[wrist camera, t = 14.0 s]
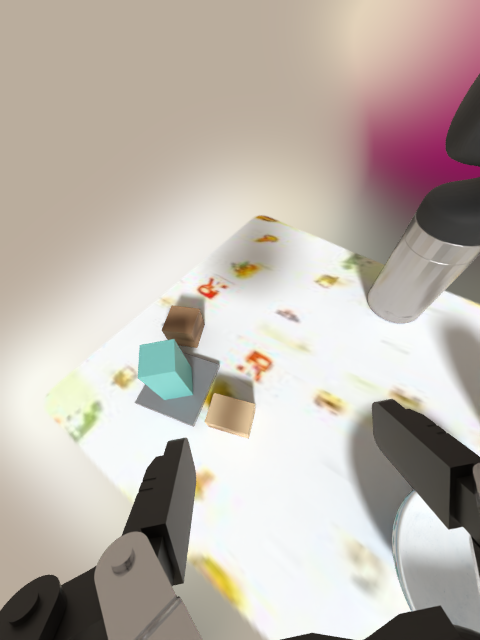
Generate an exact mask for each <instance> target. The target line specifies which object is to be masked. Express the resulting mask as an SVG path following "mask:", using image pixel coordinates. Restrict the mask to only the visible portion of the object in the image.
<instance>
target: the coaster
mask: <svg viewBox="0 0 480 640" xmlns="http://www.w3.org/2000/svg"><path fill="white" fill-rule="evenodd" d="M183 354H184V356H185V358H186V359H187V361H188V363H189V364H190V366H191V368H192V383H193V395H190V396H184V397H179V398H174V399H168V400H163V399H162V398H161V397H160V396H159V395H158V394H156V393H155V392H154V391H153V390H152V389H150V388H149V387H148V386H147V385H146V384H145V386H144V388H143V389H142V391H141V393H140V395H139V396H138V398H137V400H136V402H135V403H136V404H138V405H141V406H143V407H146V408H148V409H151V410H153V411H156V412H158V413H161V414H163V415H165V416H168V417H170V418H173V419H175V420H178V421H180V422H183V423H185V424H188V425H190V426H193V427H194V425H195V423H196V421H197V418H198V416H199V414H200V411H201V409H202V407H203V404H204V402H205V400H206V397H207V395H208V393H209V390H210V388H211V386H212V383H213V381H214V379H215V376H216V374H217V372H218V369H219V367H220V366H219V364H216V363H213V362H210V361H207V360H204V359H201V358H198V357H195V356H191V355H188V354H185V353H183Z"/></svg>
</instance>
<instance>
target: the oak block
mask: <svg viewBox="0 0 480 640" xmlns="http://www.w3.org/2000/svg"><path fill="white" fill-rule="evenodd" d="M254 414H255V404H253V403H250V402H246V401H242V400H239V399H235V398H231V397H227V396H224V395H220V394H216V393H214V395H213V398H212V401H211V404H210V407H209V410H208V413H207V416H206V419H205V423H206V424H207V425H208V426H209V427H211V428H215V429H218V430H221V431H225V432H228V433H231V434H235V435H238V436H241V437H245V438H248V439H249V435H250V431H251V427H252V423H253V418H254Z"/></svg>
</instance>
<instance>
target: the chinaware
mask: <svg viewBox="0 0 480 640" xmlns="http://www.w3.org/2000/svg"><path fill="white" fill-rule="evenodd" d="M392 551H393V558H394V564H395V569H396V573H397V576H398V580H399V583H400V586H401V588H402V591H403V594H404V596H405V598H406V601H407V603H408V605H409V607H410V609H411V611H416V610H421V609H425V608H430V607H434V606H439V605H441V607H442V608H443V610H444V611H445V613H446V614H447V616H448V618H449V619H450V621H451V622H452V624H454V625H459V626H462V627H465V628H469V629H472V630H474V631H477V632H479V633H480V595H479V590H478V585H477V580H476V575H475V569H474V564H473V559H472V554H471V549H470V543H469V533H468V532H467V531H466V530H465V529H464V527H460V528H455V529H450V530H448V529H447V527H446V526H445V525H444V524H443V523H442V522H441V520H440V519H439V518H438V517H437V516H436V515H435V513H434V512H433V511H432V510H431V509H430V508H429V506H428V505H427V504H426V503H425V502H424V500H423V499H422V498H421V497H420V496H419V495H418V493H417V492H416V491H415V490H413V491H412V492H411V493H410V494H409V495H408V496H407V497H406V498H405V499H404V501H403V502H402V504H401V505H400V507H399V509H398V511H397V514H396V517H395V520H394V525H393V531H392Z"/></svg>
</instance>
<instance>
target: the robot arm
mask: <svg viewBox="0 0 480 640" xmlns="http://www.w3.org/2000/svg"><path fill="white" fill-rule="evenodd" d="M446 151H447V154H448V156H449V157H451V158H452V159H454V160H456V161H458V162H461V163H463V164H468V165H474V166H479V167H480V74H479V75H478V77H477V78H476V80H475V81H474V83H473V84H472V86H471V87H470V89H469V91H468V92H467V94H466V96H465V97H464V99H463V101H462V102H461V104H460V106H459V108H458V110H457V112H456V114H455V116H454V118H453V120H452V122H451V125H450V127H449V130H448V133H447V137H446ZM479 254H480V177H479V178H474V179H468V180H462V181H455V182H449V183H446V184H442V185H440V186H438V187H436V188H434V189H433V190H431V191H430V192H429V193H428V194H427V195H426V196H425V198H424V199H423V201H422V203H421V204H420V206H419V208H418V210H417V212H416V213H415V215H414V217H413V218H412V220H411V222H410V223H409V225H408V227H407V228H406V230H405V232H404V234H403V235H402V237H401V239H400V241H399V242H398V244H397V246H396V247H395V249H394V251H393V252H392V254H391V256H390V257H389V259H388V261H387V262H386V264H385V266H384V267H383V269H382V271H381V273H380V274H379V276H378V277H377V279H376V281H375V283H374V284H373V286H372V288H371V289H370V291H369V293H368V297H367V299H368V303H369V306H370V307H371V309H372V310H373V311H374V312H375V313H376V314H377V315H378V316H380V317H381V318H383V319H385V320H387V321H390V322H394V323H408V322H411V321H414V320H415V319H416V318H418V317H419V316H420V315H421V314H422V313H423V312H424V311H425V310H426V309H427V308H428V307H429V306H430V305H431V304H432V303H433V302H434V301H435V300H436V299H437V298H438V296H439V295H440V294H441V293H442V292H443V291H444V290H445V289H446V288H447V287H448V286H449V285H450V284H451V283H452V282H453V281H454V280H455V279H456V278H457V277H458V276H459V275H460V274H461V273H462V272H463V271H464V270H465V269H466V268H467V267H468V266H469V265H470V264H471V263H472V262H473V260H475V258H477V257H478V255H479ZM372 416H373V434H374V438H375V441H376V443H377V445H378V447H379V449H380V450H381V451H382V452H383V454H384V455H385V456H386V457H387V458H388V459H389V461H390V462H391V463H392V464H393V465H394V466H395V468H396V469H397V470H398V471H399V472H400V473H401V475H402V476H403V477H404V478H405V479H406V481H407V482H408V483H409V484H410V485H411V486H412V488H413V489H414V490H415V491H416V492H417V493H418V495H419V496H420V497H421V498H422V499H423V500H424V502H425V503H426V504H427V505H428V506H429V508H430V509H431V510H432V511H433V512H434V513H435V515H436V516H437V517H438V518H439V519H440V520H441V522H442V523H443V524H444V525H445V526H446V527H447V529H448V530H450V529H455V528H460V527H464V529H465V530H466V531H467V532H468V533H469V543H470V549H471V554H472V559H473V564H474V569H475V575H476V580H477V585H478V590H479V595H480V457H479V456H478V455H477V454H475V453H474V452H473V451H471V450H470V449H469V448H467V447H466V446H465V445H463V444H462V443H461V442H459V441H458V440H457V439H455V438H454V437H453V436H451V435H450V434H448V433H446V432H445V431H444V430H443V429H442V428H440V427H439V426H436V424H435V423H434V422H432V421H431V420H430V419H428V418H427V417H426V416H424V415H422V414H420V413H418V412H415V411H413V410H411V409H405V408H404V407H402V406H401V405H400V404H399V403H397V402H396V401H395V400H393V399H389V400H384V401H378V402H374V403H373V404H372ZM195 488H196V472H195V466H194V462H193V458H192V454H191V450H190V446H189V442H188V439H187V438H182V439H176V440H171V441H168V443H167V446H166V449H165V452H164V455H163V456H158V457H156V458H155V459H154V460H153V461H152V463H151V464H150V465H149V466H148V468H147V470H146V472H145V475H144V478H143V482H142V483H141V486H140V488H139V493H138V494H137V496H136V499H135V502H134V504H133V507H132V510H131V512H130V515H129V518H128V520H127V523H126V526H125V528H124V531H123V534H122V536H121V537H120V538H118V539H117V540H115V541H114V542H113V543H112V544H111V545H110V546H109V547H108V548H107V549H106V550H105V552H104V553H103V555H102V556H101V558H100V560H99V562H98V564H97V566H95V567H94V568H92V569H90V570H89V571H87V572H85V573H83V574H82V575H80V576H78V577H76V578H74V579H72V580H70V581H69V582H66V583H64V584H63V585H61V584H60V582H59V580H58V578H57V577H56V576H54V575H45V576H41V577H39V578H37V579H35V580H33V581H31V582H30V583H28V584H27V585H25V586H24V587H23V588H21V589H20V590H19V591H18V592H17V593H16V594H15V595H14V596H13V597H12V598H11V599H10V600H9V601H8V602H7V603H6V604H5V605H4V607H3V608H2V610H1V611H0V640H202V638H201V636H200V634H199V632H198V630H197V628H196V626H195V624H194V622H193V620H192V618H191V616H190V614H189V613H188V610H187V608H186V607H185V605H184V603H183V601H182V599H181V598H180V597H177V596H176V594H175V592H174V590H173V588H172V586H173V585H178V584H182V583H184V576H185V568H186V560H187V552H188V544H189V536H190V528H191V520H192V512H193V504H194V496H195ZM282 640H352V639H346V638H340V637H334V636H328V635H322V634H316V633H309V634H305V635H300V636H296V637H291V638H286V639H282ZM364 640H480V633H479V632H477V631H474V630H472V629H469V628H465V627H462V626H459V625H454V624H452V622H451V621H450V619H449V618H448V616H447V614H446V613H445V611H444V610H443V608H442V607H441V605H439V606H434V607H430V608H425V609H421V610H416V611H411V612H407V613H402V614H399V615H397V616H396V617H395V618H393V619H392V620H391V621H389V622H388V623H386V624H385V625H384V626H382V627H381V628H380V629H378V630H377V631H376V632H374V633H373V634H372V635H370V636H369V637H367V638H366V639H364Z"/></svg>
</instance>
